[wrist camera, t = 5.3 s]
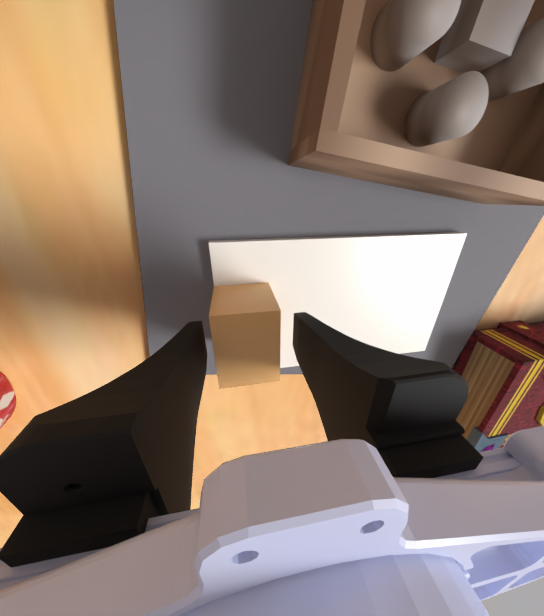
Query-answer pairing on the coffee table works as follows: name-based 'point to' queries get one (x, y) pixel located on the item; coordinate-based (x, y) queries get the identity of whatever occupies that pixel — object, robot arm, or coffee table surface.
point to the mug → (6, 400)
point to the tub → (426, 96)
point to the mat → (264, 166)
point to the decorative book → (502, 383)
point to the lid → (324, 295)
